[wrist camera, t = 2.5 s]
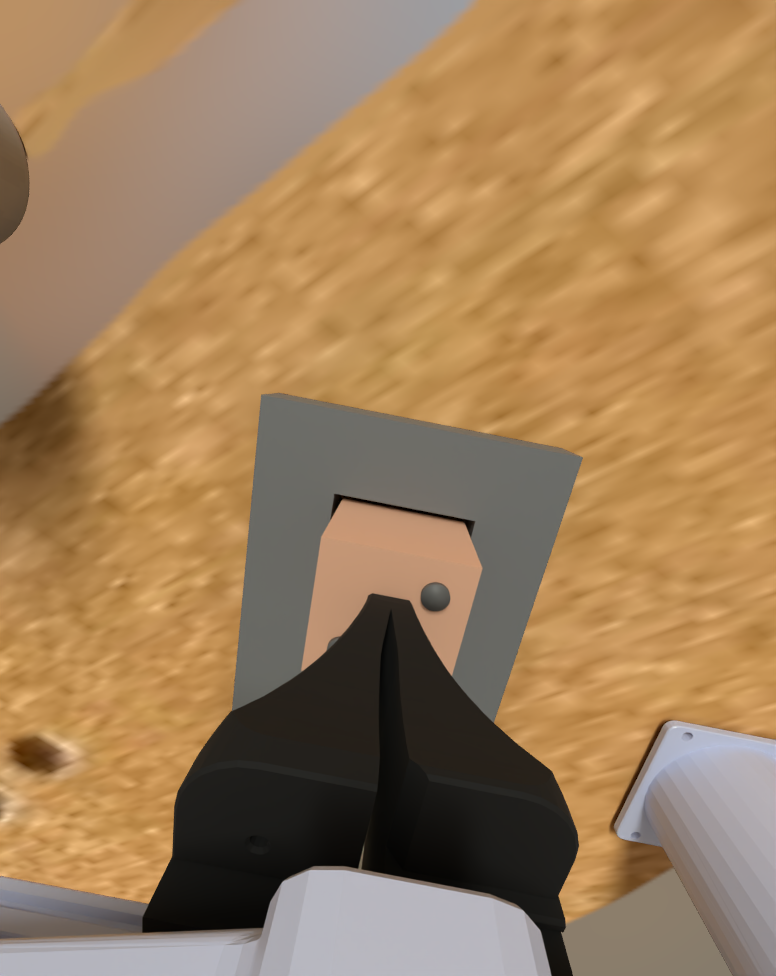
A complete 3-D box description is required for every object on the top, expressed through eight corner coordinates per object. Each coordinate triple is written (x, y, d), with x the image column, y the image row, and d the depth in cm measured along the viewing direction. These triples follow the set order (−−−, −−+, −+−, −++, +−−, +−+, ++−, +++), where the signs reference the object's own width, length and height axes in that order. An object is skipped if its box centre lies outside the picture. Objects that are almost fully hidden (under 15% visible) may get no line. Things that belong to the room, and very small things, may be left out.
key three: (464, 521, 15) (483, 571, 11) (437, 626, 17) (445, 703, 13) (343, 498, 15) (319, 539, 11) (325, 604, 17) (299, 674, 13)
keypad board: (561, 448, 16) (582, 457, 14) (421, 888, 24) (422, 933, 22) (279, 393, 16) (261, 394, 14) (231, 851, 24) (215, 893, 22)
